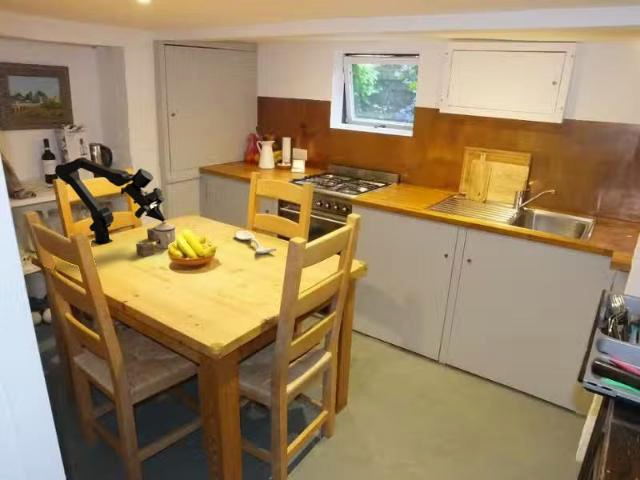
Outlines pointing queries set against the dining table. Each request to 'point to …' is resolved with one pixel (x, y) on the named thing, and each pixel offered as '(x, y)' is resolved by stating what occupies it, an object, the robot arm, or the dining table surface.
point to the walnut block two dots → (145, 249)
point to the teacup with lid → (164, 234)
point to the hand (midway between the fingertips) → (164, 220)
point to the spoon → (249, 236)
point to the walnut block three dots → (151, 234)
